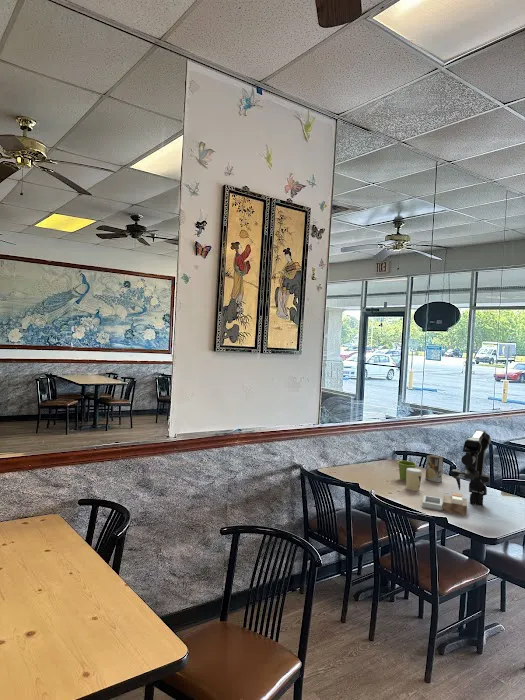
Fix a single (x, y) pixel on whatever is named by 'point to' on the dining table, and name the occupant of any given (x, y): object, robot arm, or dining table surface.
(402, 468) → the plant pot
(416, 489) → the coffee cup
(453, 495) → the terracotta tile
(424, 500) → the bin
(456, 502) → the cream tile
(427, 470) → the coffee box
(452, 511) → the brown cream box
